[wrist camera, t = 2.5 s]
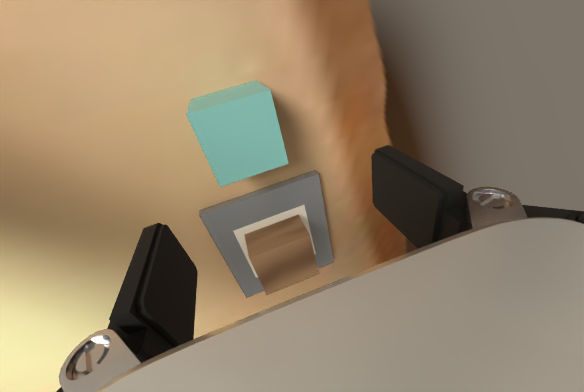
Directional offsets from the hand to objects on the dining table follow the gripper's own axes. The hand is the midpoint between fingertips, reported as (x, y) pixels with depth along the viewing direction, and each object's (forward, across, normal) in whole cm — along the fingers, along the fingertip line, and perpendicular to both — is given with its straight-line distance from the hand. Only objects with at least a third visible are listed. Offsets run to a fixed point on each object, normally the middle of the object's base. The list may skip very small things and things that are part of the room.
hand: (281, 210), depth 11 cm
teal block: (+16, +1, 0) cm, 16 cm away
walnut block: (+14, +1, +16) cm, 21 cm away
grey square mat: (+16, +1, +16) cm, 22 cm away
